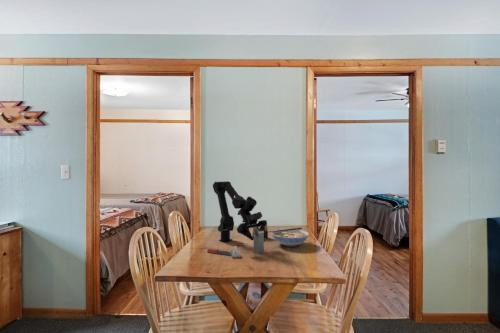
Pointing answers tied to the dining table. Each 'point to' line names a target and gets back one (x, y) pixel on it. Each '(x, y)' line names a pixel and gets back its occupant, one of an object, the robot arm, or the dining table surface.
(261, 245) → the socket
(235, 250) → the ratchet
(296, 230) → the ramen bowl
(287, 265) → the dining table surface
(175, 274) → the dining table surface
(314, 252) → the dining table surface
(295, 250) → the dining table surface
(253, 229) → the ammunition clip
